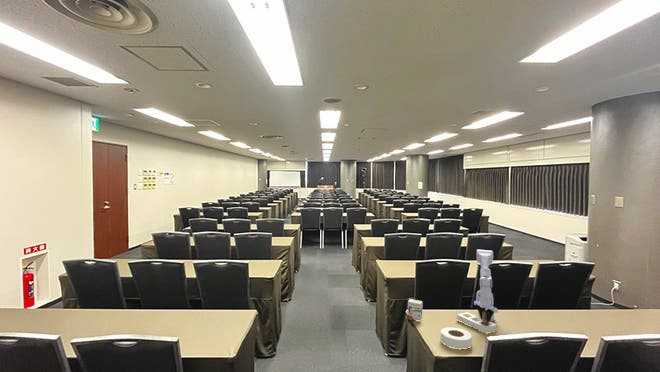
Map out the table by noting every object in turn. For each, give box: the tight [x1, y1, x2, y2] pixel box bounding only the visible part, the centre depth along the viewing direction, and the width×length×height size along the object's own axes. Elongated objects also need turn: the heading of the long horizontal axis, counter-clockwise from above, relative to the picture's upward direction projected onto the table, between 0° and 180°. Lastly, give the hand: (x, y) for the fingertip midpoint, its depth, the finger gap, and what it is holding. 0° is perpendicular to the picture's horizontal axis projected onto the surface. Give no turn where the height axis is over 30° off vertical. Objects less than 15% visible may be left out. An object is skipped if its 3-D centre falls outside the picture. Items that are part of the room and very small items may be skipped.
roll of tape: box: [440, 326, 473, 348], centre depth 176 cm, size 16×16×6 cm
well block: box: [456, 312, 498, 333], centre depth 198 cm, size 9×21×4 cm, turn 27°
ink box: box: [407, 298, 424, 321], centre depth 207 cm, size 9×5×12 cm, turn 62°
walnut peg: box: [482, 310, 489, 326], centre depth 192 cm, size 4×4×8 cm
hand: (485, 320), depth 192 cm, fingers closed on walnut peg, 3 cm apart
